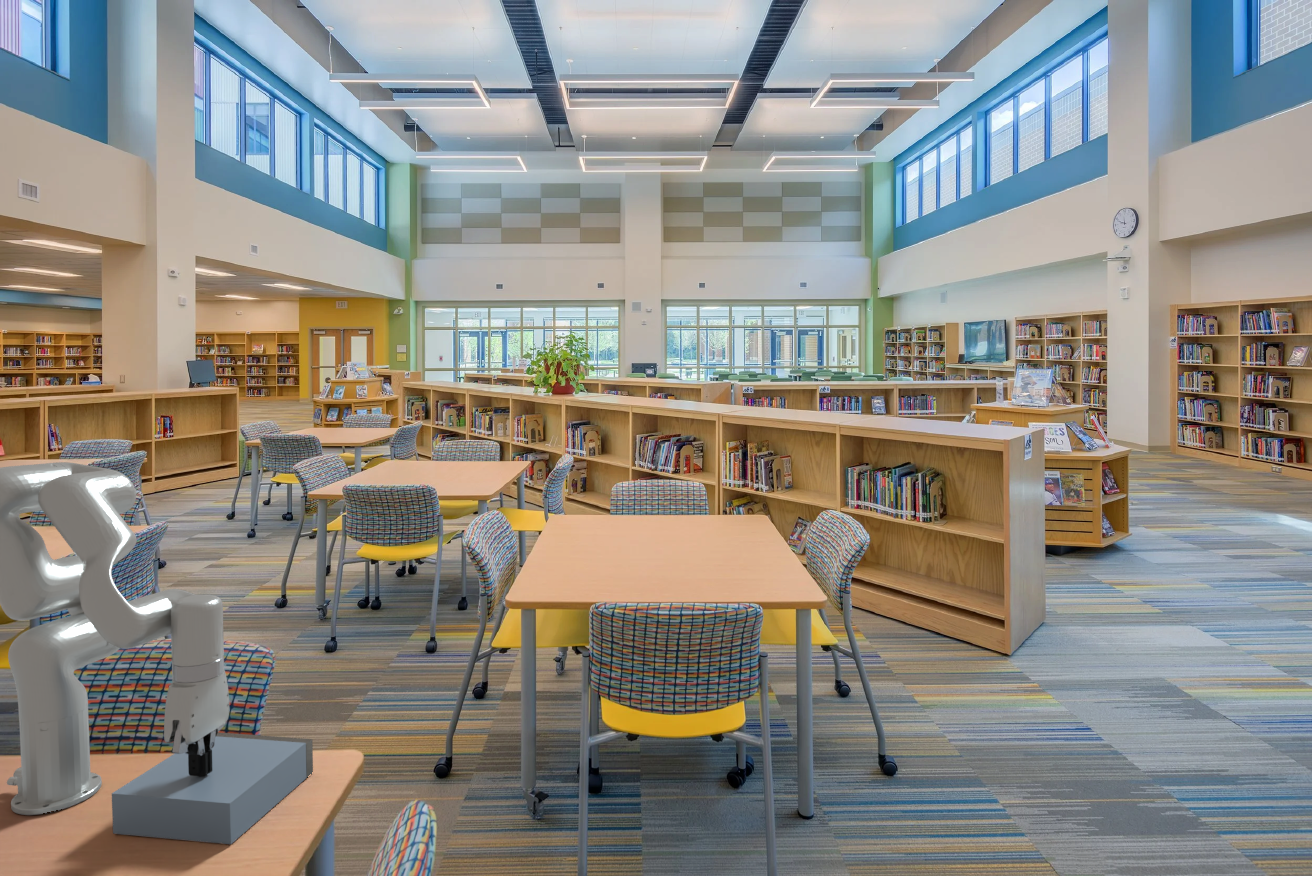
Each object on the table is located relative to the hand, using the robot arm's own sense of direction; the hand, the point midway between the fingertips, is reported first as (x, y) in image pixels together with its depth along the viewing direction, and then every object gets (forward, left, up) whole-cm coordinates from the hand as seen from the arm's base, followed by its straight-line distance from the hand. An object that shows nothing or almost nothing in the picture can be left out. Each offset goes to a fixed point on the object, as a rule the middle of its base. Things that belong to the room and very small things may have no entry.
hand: (200, 773), depth 125 cm
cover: (0, +3, -7) cm, 8 cm away
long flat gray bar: (0, +15, -8) cm, 16 cm away
